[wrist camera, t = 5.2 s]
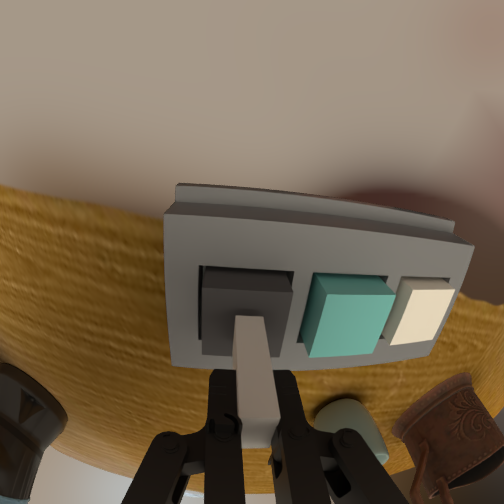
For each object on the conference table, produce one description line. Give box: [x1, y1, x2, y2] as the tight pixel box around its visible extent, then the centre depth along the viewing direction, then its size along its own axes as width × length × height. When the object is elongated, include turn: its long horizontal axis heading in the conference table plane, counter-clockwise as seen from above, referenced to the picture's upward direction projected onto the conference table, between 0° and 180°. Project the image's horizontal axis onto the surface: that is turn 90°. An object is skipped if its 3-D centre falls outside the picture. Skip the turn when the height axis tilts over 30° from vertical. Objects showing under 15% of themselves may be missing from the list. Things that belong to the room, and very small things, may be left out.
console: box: [164, 183, 475, 371], centre depth 20 cm, size 24×14×4 cm, turn 84°
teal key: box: [300, 272, 396, 358], centre depth 18 cm, size 5×5×3 cm
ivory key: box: [381, 276, 455, 345], centre depth 19 cm, size 5×5×3 cm
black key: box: [202, 266, 293, 357], centre depth 17 cm, size 5×5×3 cm
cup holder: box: [392, 372, 504, 504], centre depth 23 cm, size 18×24×25 cm
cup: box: [313, 398, 389, 465], centre depth 26 cm, size 8×8×10 cm
